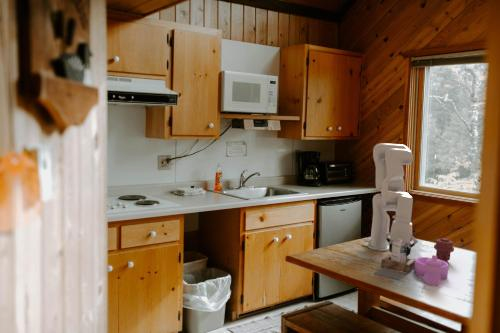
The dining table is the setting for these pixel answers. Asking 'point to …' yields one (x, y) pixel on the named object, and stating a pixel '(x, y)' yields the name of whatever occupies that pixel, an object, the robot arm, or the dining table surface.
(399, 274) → the rubber mat
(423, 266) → the container set
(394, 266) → the socket collar
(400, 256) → the syrup box
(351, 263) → the dining table surface
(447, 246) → the mechanical component
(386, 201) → the robot arm
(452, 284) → the dining table surface
